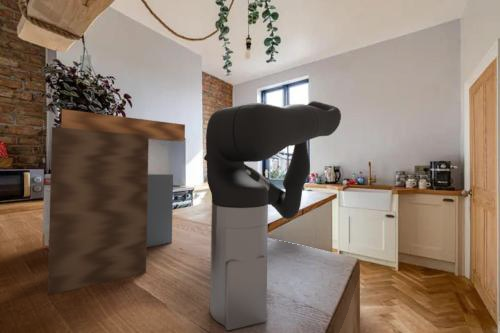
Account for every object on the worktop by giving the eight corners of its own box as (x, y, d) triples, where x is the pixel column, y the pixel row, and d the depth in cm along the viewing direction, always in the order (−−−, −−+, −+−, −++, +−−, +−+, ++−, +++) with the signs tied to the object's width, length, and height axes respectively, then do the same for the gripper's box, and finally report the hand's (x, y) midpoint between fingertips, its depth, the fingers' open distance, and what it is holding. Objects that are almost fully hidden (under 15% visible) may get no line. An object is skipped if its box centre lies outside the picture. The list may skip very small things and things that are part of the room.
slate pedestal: (163, 234, 76) (165, 173, 77) (171, 242, 68) (173, 174, 68) (108, 242, 67) (110, 173, 68) (110, 253, 59) (112, 174, 59)
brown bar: (179, 141, 60) (180, 126, 60) (184, 140, 56) (185, 124, 56) (64, 132, 46) (64, 113, 46) (61, 129, 43) (61, 109, 43)
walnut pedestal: (139, 257, 57) (141, 140, 57) (145, 272, 48) (148, 135, 49) (56, 273, 48) (59, 133, 48) (47, 295, 39) (51, 126, 40)
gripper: (244, 171, 77) (207, 145, 70) (271, 172, 66) (229, 141, 58) (235, 191, 75) (195, 166, 67) (260, 195, 63) (216, 166, 56)
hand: (211, 155), depth 63 cm, fingers open, 8 cm apart
